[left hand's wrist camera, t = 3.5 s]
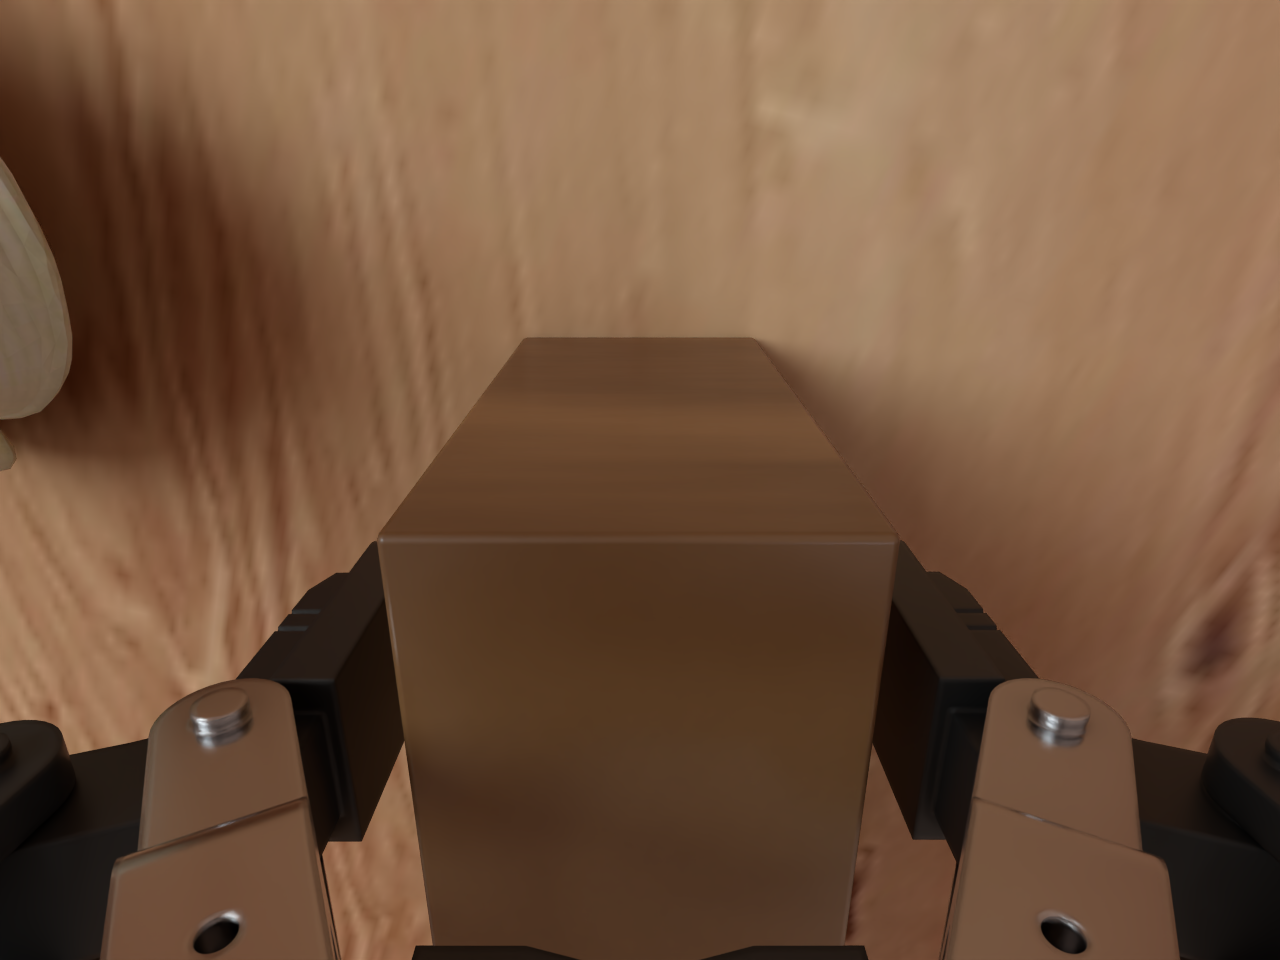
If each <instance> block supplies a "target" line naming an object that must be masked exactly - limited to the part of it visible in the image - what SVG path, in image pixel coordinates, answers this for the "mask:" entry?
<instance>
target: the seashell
mask: <svg viewBox="0 0 1280 960" xmlns="http://www.w3.org/2000/svg"><path fill="white" fill-rule="evenodd" d="M71 361H72V331H71V325H70V319H69V313H68V308H67V304H66V299H65V295H64V290H63V286H62V281H61V278H60V275H59V271H58V268H57V265H56V262H55V259H54V256H53V254H52V252H51V250H50V247H49V245H48V243H47V241H46V238H45V236H44V234H43V232H42V229H41V227H40V225H39V223H38V222H37V220H36V218H35V216H34V214H33V212H32V210H31V209H30V207H29V205H28V203H27V201H26V199H25V197H24V195H23V194H22V192H21V190H20V188H19V186H18V184H17V182H16V180H15V178H14V177H13V175H12V173H11V172H10V170H9V169H8V167H7V166H6V164H5V163H4V161H3V160H2V159H1V157H0V419H14V418H23V417H26V416H29V415H32V414H35V413H38V412H41V411H42V410H43V409H44V408H45V407H46V406H47V405H48V404H49V403H50V402H51V401H52V400H53V398H54V397H55V396H56V395H57V394H58V393H59V391H60V389H61V387H62V385H63V383H64V381H65V379H66V377H67V376H68V374H69V370H70V366H71ZM16 459H17V458H16V454H15V449H14V446H13V445H12V444H11V442H10V441H9V440H8V438H7V437H6V436H5V434H4V433H3V432H2V430H1V429H0V471H2V470H7V469H10V468H11V467H12V465H13V464H14V462H15V461H16Z"/></svg>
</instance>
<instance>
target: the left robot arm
mask: <svg viewBox="0 0 1280 960" xmlns="http://www.w3.org/2000/svg"><path fill="white" fill-rule="evenodd" d="M403 743H404V733H403V726H402V719H401V712H400V704H399V697H398V690H397V683H396V675H395V668H394V661H393V654H392V647H391V639H390V632H389V625H388V618H387V610H386V603H385V596H384V589H383V582H382V574H381V567H380V560H379V553H378V545H377V541H374V542H372V543H371V544H370V545H369V547H368V548H367V549H366V551H365V552H364V553H363V555H362V556H361V557H360V559H359V560H358V561H357V563H356V564H355V565H354V567H353V568H352V569H351V571H350V572H349V573H335V574H334V575H332V576H330V577H329V578H327V579H326V580H324V581H322V582H321V583H319V584H318V585H316V586H314V587H313V588H311V589H309V590H308V591H307V592H306V594H305V595H304V596H303V597H302V599H301V600H300V601H299V602H298V603H297V605H296V606H295V607H294V608H293V610H292V614H289V615H288V616H287V617H286V618H285V619H284V621H283V622H282V623H281V624H280V626H279V627H278V631H275V632H274V633H273V634H272V635H271V637H270V638H269V639H268V640H267V641H266V643H265V644H264V645H263V646H262V648H261V649H260V650H259V651H258V652H257V654H256V655H255V656H254V657H253V659H252V660H251V661H250V662H249V663H248V665H247V666H246V667H245V668H244V670H243V671H242V672H241V673H240V675H239V676H238V677H237V678H236V679H235V680H230V681H226V682H221V683H218V684H214V685H211V686H208V687H205V688H203V689H200V690H198V691H196V692H193V693H191V694H189V695H187V696H186V697H184V698H182V699H180V700H179V701H177V702H176V703H174V704H173V705H172V706H170V707H169V708H168V709H166V710H165V711H164V712H163V713H162V714H161V715H160V716H159V717H158V719H157V720H156V721H155V722H154V724H153V726H152V728H151V730H150V733H149V738H147V739H144V740H140V741H136V742H131V743H127V744H122V745H117V746H112V747H107V748H102V749H97V750H92V751H87V752H82V753H77V754H72V755H69V753H68V750H67V747H66V744H65V741H64V738H63V735H62V733H61V731H60V730H59V728H58V727H56V726H55V725H53V724H51V723H48V722H45V721H38V720H21V721H11V722H6V723H0V960H341V954H340V948H339V943H338V937H337V932H336V926H335V920H334V915H333V909H332V904H331V898H330V892H329V887H328V881H327V876H326V871H325V866H324V861H323V856H322V853H323V851H324V849H325V847H326V845H327V843H328V841H362V840H363V837H364V835H365V832H366V830H367V828H368V825H369V823H370V821H371V818H372V816H373V814H374V811H375V809H376V806H377V804H378V802H379V799H380V797H381V795H382V792H383V790H384V788H385V785H386V783H387V780H388V778H389V776H390V773H391V771H392V769H393V766H394V764H395V762H396V759H397V757H398V754H399V752H400V750H401V747H402V745H403ZM872 743H873V745H874V747H875V750H876V752H877V755H878V757H879V759H880V762H881V764H882V767H883V769H884V771H885V774H886V776H887V779H888V781H889V783H890V786H891V788H892V791H893V793H894V795H895V798H896V800H897V803H898V805H899V807H900V810H901V812H902V815H903V817H904V819H905V822H906V824H907V827H908V829H909V831H910V834H911V836H912V839H913V840H946V841H947V843H948V845H949V847H950V849H951V851H952V853H953V856H954V858H955V860H956V866H955V871H954V876H953V881H952V887H951V892H950V898H949V904H948V909H947V915H946V920H945V926H944V932H943V937H942V943H941V948H940V954H939V960H1280V722H1278V721H1273V720H1267V719H1259V718H1237V719H1231V720H1228V721H1225V722H1223V723H1222V724H1220V725H1219V726H1218V728H1217V729H1216V730H1215V733H1214V736H1213V739H1212V742H1211V745H1210V748H1209V751H1208V754H1205V753H1200V752H1195V751H1190V750H1185V749H1181V748H1176V747H1171V746H1166V745H1161V744H1156V743H1151V742H1146V741H1141V740H1137V739H1133V738H1131V733H1130V730H1129V728H1128V726H1127V724H1126V722H1125V721H1124V720H1123V719H1122V717H1121V716H1120V715H1119V714H1118V713H1117V712H1116V711H1115V710H1114V709H1112V708H1111V707H1110V706H1108V705H1107V704H1106V703H1104V702H1103V701H1101V700H1100V699H1098V698H1096V697H1094V696H1093V695H1091V694H1089V693H1087V692H1084V691H1082V690H1080V689H1077V688H1075V687H1072V686H1069V685H1066V684H1062V683H1059V682H1054V681H1050V680H1044V679H1039V678H1038V677H1037V675H1036V674H1035V673H1034V672H1033V670H1032V669H1031V668H1030V667H1029V665H1028V664H1027V663H1026V662H1025V660H1024V659H1023V658H1022V657H1021V655H1020V654H1019V653H1018V652H1017V651H1016V649H1015V648H1014V647H1013V646H1012V644H1011V643H1010V642H1009V641H1008V639H1007V638H1006V637H1005V636H1004V634H1003V633H1002V632H1001V631H1000V630H997V628H996V625H995V623H994V622H993V621H992V620H991V618H990V617H989V616H988V615H987V613H983V608H982V607H981V606H980V605H979V603H978V602H977V601H976V600H975V599H974V597H973V596H972V595H971V594H970V592H969V591H968V590H967V589H966V588H964V587H963V586H961V585H959V584H958V583H956V582H955V581H953V580H951V579H950V578H948V577H947V576H945V575H943V574H942V573H940V572H926V571H925V569H924V568H923V567H922V565H921V564H920V563H919V561H918V560H917V558H916V557H915V556H914V554H913V553H912V552H911V550H910V549H909V548H908V546H907V545H906V544H905V543H904V542H903V541H901V540H900V545H899V552H898V559H897V566H896V574H895V581H894V588H893V596H892V603H891V610H890V617H889V625H888V632H887V639H886V647H885V654H884V661H883V668H882V676H881V683H880V690H879V697H878V705H877V712H876V719H875V727H874V734H873V741H872ZM412 960H579V959H576V958H572V957H568V956H564V955H560V954H556V953H552V952H549V951H545V950H541V949H537V948H533V947H529V946H416V947H415V950H414V954H413V957H412ZM701 960H868V957H867V954H866V950H865V947H864V946H751V947H747V948H743V949H739V950H735V951H731V952H728V953H724V954H720V955H716V956H712V957H708V958H704V959H701Z"/></svg>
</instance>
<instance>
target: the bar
mask: <svg viewBox="0 0 1280 960" xmlns="http://www.w3.org/2000/svg"><path fill="white" fill-rule="evenodd" d="M377 545H378V553H379V560H380V567H381V574H382V582H383V589H384V596H385V603H386V610H387V618H388V625H389V632H390V639H391V647H392V654H393V661H394V668H395V675H396V683H397V690H398V697H399V704H400V712H401V719H402V726H403V733H404V740H405V748H406V755H407V762H408V769H409V777H410V784H411V791H412V798H413V805H414V813H415V820H416V827H417V834H418V842H419V849H420V856H421V863H422V870H423V878H424V885H425V892H426V899H427V907H428V914H429V921H430V928H431V935H432V943H433V946H529V947H533V948H537V949H541V950H545V951H549V952H552V953H556V954H560V955H564V956H568V957H572V958H576V959H579V960H701V959H704V958H708V957H712V956H716V955H720V954H724V953H728V952H731V951H735V950H739V949H743V948H747V947H751V946H844V945H845V938H846V930H847V923H848V916H849V909H850V901H851V894H852V887H853V879H854V872H855V865H856V858H857V850H858V843H859V836H860V828H861V821H862V814H863V807H864V799H865V792H866V785H867V778H868V770H869V763H870V756H871V748H872V741H873V734H874V727H875V719H876V712H877V705H878V697H879V690H880V683H881V676H882V668H883V661H884V654H885V647H886V639H887V632H888V625H889V617H890V610H891V603H892V596H893V588H894V581H895V574H896V566H897V559H898V552H899V545H900V539H899V536H898V533H897V532H896V531H895V529H894V528H893V526H892V525H891V524H890V522H889V521H888V520H887V518H886V517H885V516H884V514H883V513H882V512H881V510H880V509H879V507H878V506H877V505H876V503H875V502H874V501H873V499H872V498H871V497H870V495H869V494H868V492H867V491H866V490H865V488H864V487H863V486H862V484H861V483H860V482H859V480H858V479H857V478H856V476H855V475H854V473H853V472H852V471H851V469H850V468H849V467H848V465H847V464H846V463H845V461H844V460H843V459H842V457H841V456H840V454H839V453H838V452H837V450H836V449H835V448H834V446H833V445H832V444H831V442H830V441H829V439H828V438H827V437H826V435H825V434H824V433H823V431H822V430H821V429H820V427H819V426H818V425H817V423H816V422H815V420H814V419H813V418H812V416H811V415H810V414H809V412H808V411H807V410H806V408H805V407H804V406H803V404H802V403H801V401H800V400H799V399H798V397H797V396H796V395H795V393H794V392H793V391H792V389H791V388H790V386H789V385H788V384H787V382H786V381H785V380H784V378H783V377H782V376H781V374H780V373H779V372H778V370H777V369H776V367H775V366H774V365H773V363H772V362H771V361H770V359H769V358H768V357H767V355H766V354H765V353H764V351H763V350H762V348H761V347H760V346H759V344H758V343H757V342H756V340H755V339H753V338H525V339H523V341H522V342H521V343H520V345H519V346H518V348H517V349H516V350H515V352H514V353H513V354H512V356H511V357H510V358H509V360H508V361H507V362H506V364H505V365H504V366H503V368H502V369H501V370H500V372H499V373H498V374H497V376H496V377H495V378H494V380H493V381H492V382H491V384H490V385H489V387H488V388H487V389H486V391H485V392H484V393H483V395H482V396H481V397H480V399H479V400H478V401H477V403H476V404H475V405H474V407H473V408H472V409H471V411H470V412H469V413H468V415H467V416H466V417H465V419H464V420H463V421H462V423H461V424H460V425H459V427H458V428H457V430H456V431H455V432H454V434H453V435H452V436H451V438H450V439H449V440H448V442H447V443H446V444H445V446H444V447H443V448H442V450H441V451H440V452H439V454H438V455H437V456H436V458H435V459H434V460H433V462H432V463H431V464H430V466H429V467H428V468H427V470H426V471H425V473H424V474H423V475H422V477H421V478H420V479H419V481H418V482H417V483H416V485H415V486H414V487H413V489H412V490H411V491H410V493H409V494H408V495H407V497H406V498H405V499H404V501H403V502H402V503H401V505H400V506H399V507H398V509H397V510H396V512H395V513H394V514H393V516H392V517H391V518H390V520H389V521H388V522H387V524H386V525H385V526H384V528H383V529H382V530H381V532H380V533H379V535H378V538H377Z"/></svg>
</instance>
